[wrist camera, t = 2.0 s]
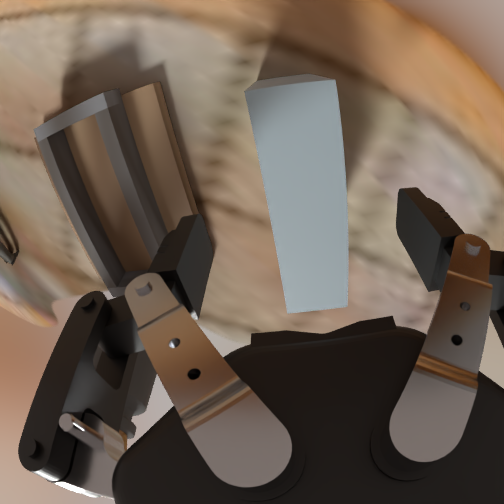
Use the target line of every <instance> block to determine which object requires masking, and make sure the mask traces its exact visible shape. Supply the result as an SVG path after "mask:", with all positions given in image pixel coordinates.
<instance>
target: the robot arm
mask: <svg viewBox="0 0 504 504" xmlns="http://www.w3.org/2000/svg"><path fill="white" fill-rule="evenodd" d="M396 229H397V234H398V237H399V239H400V240H401V242H402V244H403V245H404V247H405V249H406V251H407V252H408V254H409V256H410V258H411V260H412V261H413V263H414V265H415V267H416V269H417V271H418V273H419V274H420V276H421V278H422V280H423V282H424V284H425V286H426V288H427V290H428V292H430V291H435V290H440V292H441V294H440V297H439V300H438V303H437V306H436V309H435V312H434V315H433V318H432V321H431V323H430V326H429V329H428V332H427V334H424V333H422V332H420V331H417V330H415V329H411V328H407V327H401V326H396V325H395V322H394V319H393V316H389V317H383V318H377V319H371V320H364V321H359V322H356V323H354V324H351V325H348V326H346V327H343V328H340V329H337V330H335V331H332V332H329V333H325V334H318V333H307V332H297V331H287V330H286V331H276V332H265V333H252V334H251V344H250V345H247V346H244V347H242V348H239V349H237V350H235V351H233V352H231V353H229V354H228V355H226V356H225V357H222V356H221V355H220V353H219V352H218V351H217V350H216V348H215V347H214V346H213V344H212V343H211V342H210V340H209V339H208V338H207V337H206V335H205V334H204V333H203V331H202V330H201V329H200V327H199V326H198V325H197V323H196V322H195V320H194V319H199V315H200V311H201V307H202V302H203V298H204V294H205V290H206V285H207V281H208V277H209V273H210V269H211V265H212V261H213V250H212V245H211V242H210V239H209V236H208V233H207V230H206V226H205V223H204V220H203V217H202V215H201V214H194V215H188V216H183V217H181V219H180V221H179V223H178V225H177V228H176V230H172V231H171V232H169V233H168V234H167V235H166V236H165V237H164V239H163V241H162V243H161V245H160V247H159V249H158V251H157V254H156V255H155V257H154V259H153V261H152V263H151V265H150V267H149V269H148V271H147V273H146V274H143V275H140V276H138V277H137V278H135V279H134V280H132V281H131V282H130V283H129V284H128V286H127V287H126V289H125V295H122V296H119V297H116V298H114V299H110V300H107V298H106V297H105V295H104V294H103V293H102V292H100V291H93V292H90V293H88V294H86V295H84V296H83V297H82V298H81V299H80V300H79V301H78V302H77V303H76V305H75V306H74V308H73V310H72V312H71V314H70V316H69V318H68V320H67V322H66V324H65V326H64V328H63V330H62V332H61V335H60V337H59V339H58V341H57V343H56V346H55V348H54V350H53V352H52V354H51V357H50V359H49V361H48V364H47V366H46V369H45V371H44V374H43V376H42V378H41V381H40V383H39V386H38V389H37V391H36V394H35V397H34V400H33V402H32V405H31V408H30V411H29V414H28V417H27V420H26V423H25V426H24V429H23V432H22V436H21V439H20V443H19V449H18V454H19V459H20V462H21V463H22V465H23V466H24V468H26V469H27V470H29V471H31V472H33V473H35V474H37V475H39V476H41V477H43V478H45V479H46V480H47V481H49V482H52V483H54V484H56V485H59V486H61V487H64V488H66V489H68V490H71V491H73V492H79V493H82V494H84V495H87V496H91V497H100V496H103V497H107V498H110V499H114V500H115V503H116V504H504V389H503V388H502V387H500V386H499V385H498V384H496V383H495V382H493V381H492V380H491V379H490V378H488V377H487V376H485V375H484V374H483V373H481V372H480V371H479V367H480V363H481V358H482V354H483V349H484V344H485V339H486V333H487V328H488V321H489V316H490V318H491V320H492V322H493V324H494V327H495V329H496V331H497V333H498V336H499V338H500V340H501V343H502V345H503V347H504V252H502V251H493V250H490V247H489V245H488V244H487V242H486V241H485V240H483V239H482V238H480V237H478V236H476V235H473V234H465V233H464V232H463V231H462V229H461V228H460V227H459V226H458V225H457V223H456V222H455V221H454V220H453V219H452V218H450V215H449V214H448V213H447V212H445V210H444V209H443V208H442V206H441V205H440V204H439V203H437V202H435V201H433V200H432V199H430V198H427V197H426V196H425V195H424V194H423V193H422V192H421V191H420V190H419V189H418V188H417V187H414V188H402V189H399V192H398V202H397V217H396ZM98 346H99V347H100V348H101V350H102V353H101V356H100V359H99V362H98V365H97V368H96V370H95V368H94V365H93V358H94V355H95V352H96V349H97V347H98ZM143 350H146V352H147V354H148V356H149V358H150V360H151V362H152V364H153V366H154V368H155V370H156V372H157V374H158V376H159V378H160V380H161V382H162V384H163V386H164V388H165V390H166V391H167V393H168V395H169V397H170V399H171V401H172V403H173V404H174V406H173V407H172V408H171V409H170V410H169V411H168V412H167V413H166V414H165V415H164V416H163V417H162V418H161V419H160V420H159V421H157V422H156V423H155V424H154V425H153V426H152V427H151V428H150V429H149V430H148V431H147V432H146V433H145V434H144V435H143V436H142V437H141V438H139V439H138V440H137V441H136V442H135V443H134V444H133V445H132V446H131V447H130V448H129V449H127V450H126V451H125V449H124V441H123V438H122V436H121V435H120V434H119V430H120V425H121V421H122V416H123V412H124V407H125V403H126V399H127V394H128V390H129V386H130V382H131V378H132V374H133V370H134V367H135V363H136V359H137V355H138V352H139V351H143Z"/></svg>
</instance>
